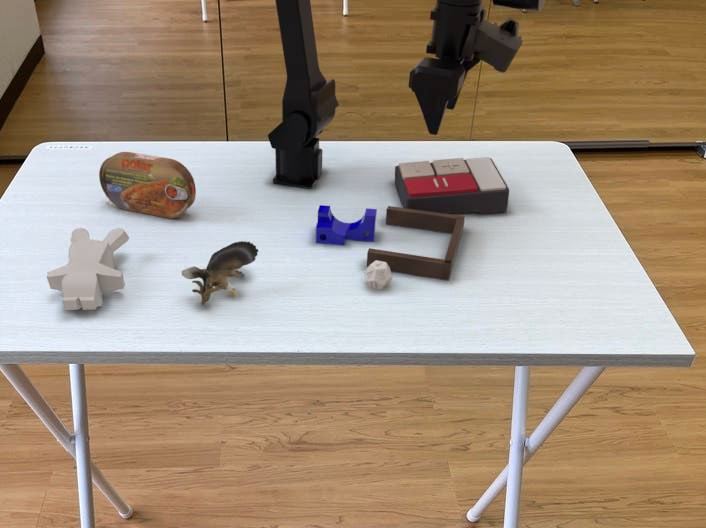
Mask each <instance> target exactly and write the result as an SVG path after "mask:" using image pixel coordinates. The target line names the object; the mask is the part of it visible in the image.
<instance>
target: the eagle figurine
mask: <svg viewBox="0 0 706 528" xmlns="http://www.w3.org/2000/svg"><path fill="white" fill-rule="evenodd" d="M258 252H259V249H258V248H257V246H256V245H255V244H254V243H253V242H251V241H243V240H241V241H235V242H232V243H230V244H229V245H227V246H224V247H222V248H221V249H219V250H216V251H214V253H212V254H211V256H210V258H209V260H208V263H207V266H206V268H199V267H197V266H189V267H186V268H184V269H182V270H181V272H180V273H181V276H182V277H184V279H187V280H192V281H191V282H192V283H193V284H196V285H197V286H198V287H199V289H196V288H194V289H192V290H191V292H192V293H198V294H199V295H200V297H201V301H200V305H201V306H205V304H206V303H207V302H209V300H210V299H211V296H212V294H213V293H214V292H219V291H220V290H222V291H225V292H227V293H229V294H231V295H232V296H233V297H234V298H236V297H237V293H236V289H235V287H233V285H232V284H231V283H230V282H229V280H228V278H229V277H232V278H233V277H246V275H245V273H243V272H242V271H239V269H241V268H242V267H244V266H247V265H248V266H249V264H252V263H253V262H256V258H257V256H258ZM195 279H201V280H202V281H200V280H195Z"/></svg>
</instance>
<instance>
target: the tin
mask: <svg viewBox="0 0 706 528" xmlns="http://www.w3.org/2000/svg"><path fill="white" fill-rule="evenodd" d="M98 177H99V178H98V179H99V183H100V187H101V189H102V191H103V193H104V194H105V196H106V198H107V199H108V200H109V201H110V202H111V203H112V204H113V205H115V206H116V207H118V208H119V209H122V210H124V211H127V212H134V213H139V214H140V213H141V214H145V215H151V216H157V217H161V218H166V219H167V218H168V219H175V218H178V217H181V216H182V215H184V214H185V213H186V212H187V211H188V209H190V208H191V207H192V206H193V204H194V202H195V201H196V200H195V199H196V195H197V193H196V192H197V189H196V188H197V187H196V183H195V179H194V176H193V175H192V173H191V171H190V170H189V169H188V168H187V167H186V166H185V165H184V164H182V163H181V162H180V161H178V160H176V159H173V158H169V157H162V156H156V155H149V154H143V153H136V152H131V151H121V152H118V153H116V154H113V155H112V156H109V157H108V158H106V159H105V160H103V162H102V163H101V165H100V168H99V173H98Z"/></svg>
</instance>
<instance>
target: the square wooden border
mask: <svg viewBox="0 0 706 528" xmlns="http://www.w3.org/2000/svg"><path fill="white" fill-rule="evenodd" d="M465 219H466V216H465V215H457V214H452V213H448V214H444V213H436V212H429V211H422V210H415V209H407V208H403V207H399V206H393V205H387V207H386V211H385V225H389V226H395V227H403V228H409V229H410V228H411V229H416V230H423V231H430V232H437V233H444V234H451V236H450V241H449V243H448V247H447V249H446V254H445V256H444V259H442V258H436V257H429V256H423V255H417V254H411V253H405V252H396V251H389V250H383V249H377V248H368V250H367V253H366V269H367V268H368V267H369V265H370V264H372V263H373V262H374V261H376V260H377V261H382V262H386V263H387V264H388V266H389V268H390V270H391V273H396V274H397V273H399V274H404V275H409V276H410V275H411V276H416V277H417V276H418V277H423V278H429V279H430V278H431V279H436V280H441V281H448V282H449V281H450V277H451V274H452V271H453V267H454V263H455V261H456V256H457V254H458V250H459V246H460V243H461V239H462V236H463V232H464V225H465Z"/></svg>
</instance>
